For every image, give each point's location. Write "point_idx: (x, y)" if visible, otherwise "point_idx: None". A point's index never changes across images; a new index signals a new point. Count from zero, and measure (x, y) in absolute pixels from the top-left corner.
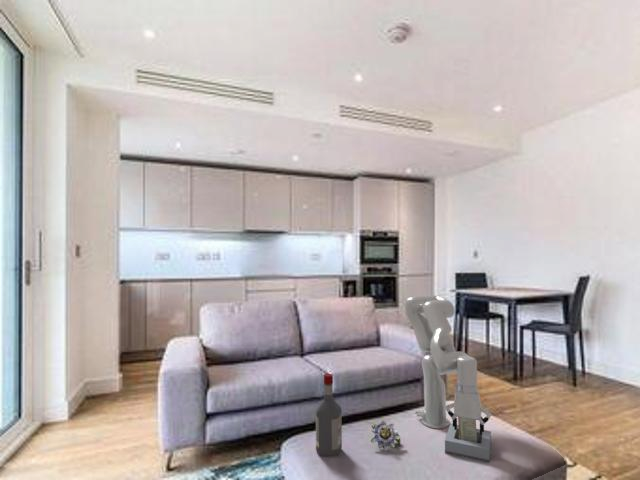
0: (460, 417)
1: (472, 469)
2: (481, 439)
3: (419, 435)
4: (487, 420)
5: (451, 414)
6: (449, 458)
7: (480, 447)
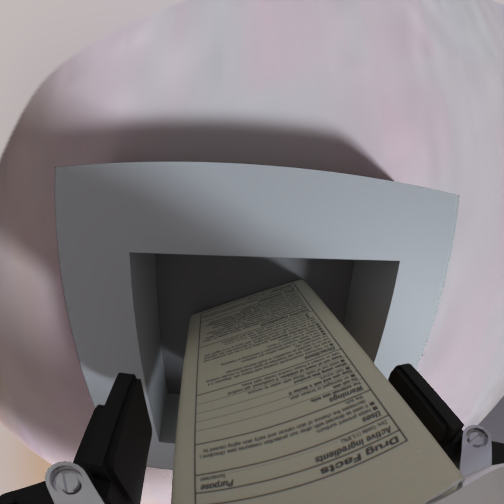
0: (462, 475)
1: (218, 33)
2: (172, 408)
3: (476, 329)
4: (8, 498)
5: (497, 460)
6: (371, 124)
7: (128, 162)
